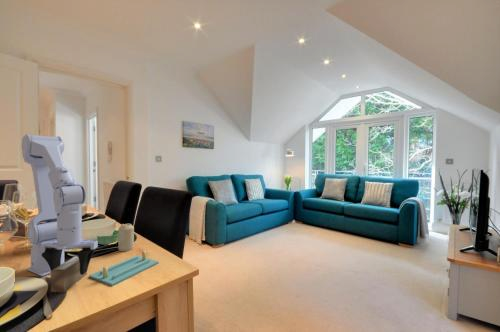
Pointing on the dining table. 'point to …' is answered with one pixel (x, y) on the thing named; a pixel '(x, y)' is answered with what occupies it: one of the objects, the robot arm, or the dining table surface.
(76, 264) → the walnut frame
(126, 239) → the candle
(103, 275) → the light blue peg board
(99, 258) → the dining table surface
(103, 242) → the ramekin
